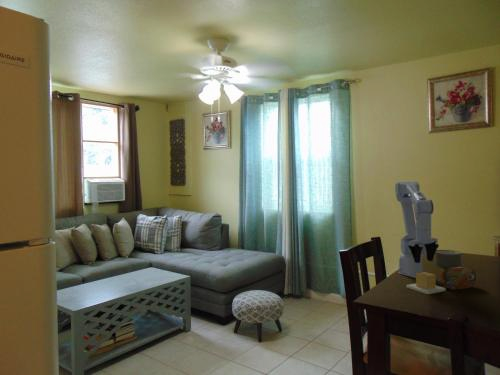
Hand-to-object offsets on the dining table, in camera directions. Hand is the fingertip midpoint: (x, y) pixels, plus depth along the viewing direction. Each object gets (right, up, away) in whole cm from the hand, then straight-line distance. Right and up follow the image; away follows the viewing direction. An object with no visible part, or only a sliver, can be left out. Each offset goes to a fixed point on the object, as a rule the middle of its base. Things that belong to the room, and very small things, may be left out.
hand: (423, 261), depth 151 cm
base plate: (-2, -10, -6) cm, 12 cm away
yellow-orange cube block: (-2, -9, -7) cm, 11 cm away
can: (+27, -9, +32) cm, 43 cm away
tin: (+11, -10, -5) cm, 16 cm away
